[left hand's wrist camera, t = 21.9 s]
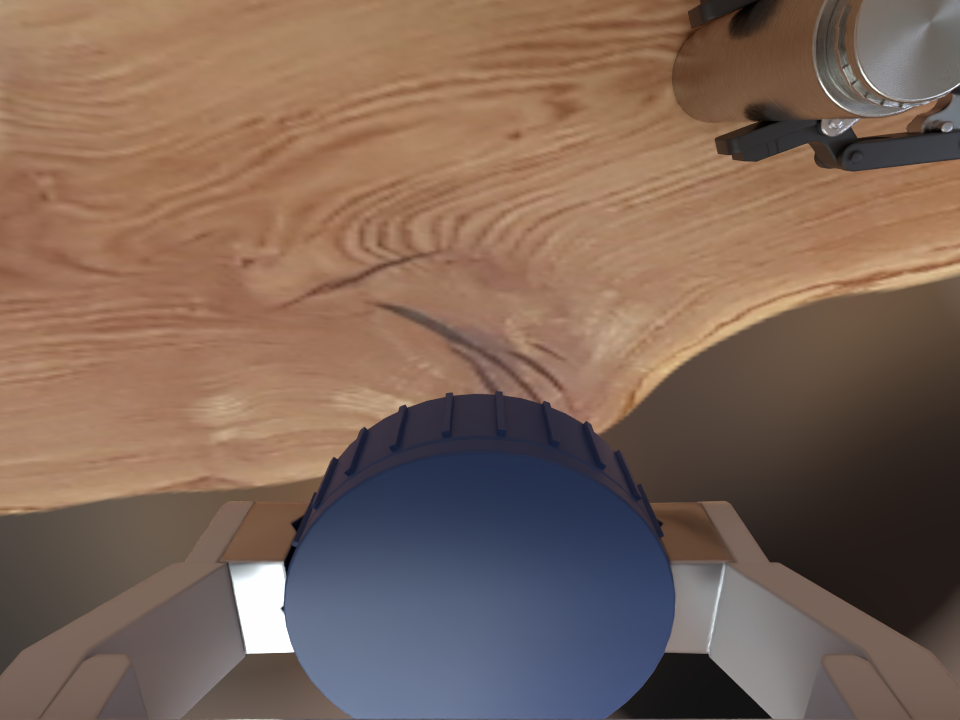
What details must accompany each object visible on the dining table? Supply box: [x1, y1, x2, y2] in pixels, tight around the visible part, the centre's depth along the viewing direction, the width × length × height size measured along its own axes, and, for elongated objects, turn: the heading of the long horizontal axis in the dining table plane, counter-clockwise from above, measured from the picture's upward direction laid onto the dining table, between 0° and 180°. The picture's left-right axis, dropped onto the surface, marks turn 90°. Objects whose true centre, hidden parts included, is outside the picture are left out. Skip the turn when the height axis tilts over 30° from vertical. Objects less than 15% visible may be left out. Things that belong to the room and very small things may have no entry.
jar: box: [672, 0, 960, 123], centre depth 24 cm, size 5×5×16 cm
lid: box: [283, 391, 676, 719], centre depth 10 cm, size 6×6×2 cm
